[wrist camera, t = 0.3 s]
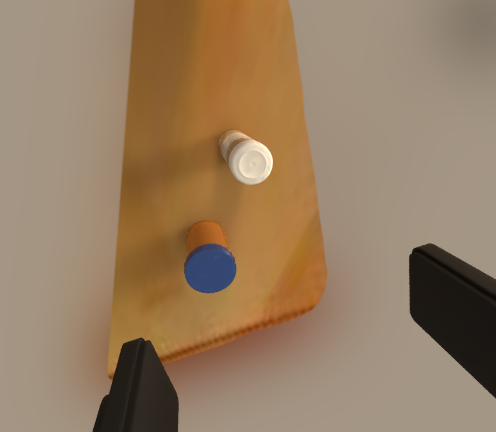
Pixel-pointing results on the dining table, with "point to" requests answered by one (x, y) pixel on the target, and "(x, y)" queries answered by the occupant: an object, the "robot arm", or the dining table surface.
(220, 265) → the lid
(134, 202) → the dining table surface
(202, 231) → the jar
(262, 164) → the sprinkles bottle
